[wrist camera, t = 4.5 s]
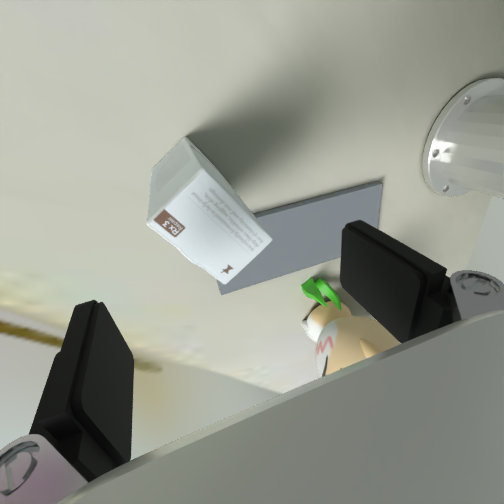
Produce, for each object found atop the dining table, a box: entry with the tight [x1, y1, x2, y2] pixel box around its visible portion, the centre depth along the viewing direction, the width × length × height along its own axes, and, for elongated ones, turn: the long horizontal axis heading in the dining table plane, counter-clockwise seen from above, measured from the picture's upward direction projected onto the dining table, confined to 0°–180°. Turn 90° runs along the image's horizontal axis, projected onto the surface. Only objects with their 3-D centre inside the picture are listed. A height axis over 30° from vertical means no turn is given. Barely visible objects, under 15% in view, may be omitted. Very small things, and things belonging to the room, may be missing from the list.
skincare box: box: [147, 137, 273, 284], centre depth 20 cm, size 6×4×12 cm
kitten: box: [301, 277, 400, 378], centre depth 33 cm, size 15×10×15 cm
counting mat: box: [217, 182, 382, 295], centre depth 31 cm, size 20×8×1 cm, turn 98°
